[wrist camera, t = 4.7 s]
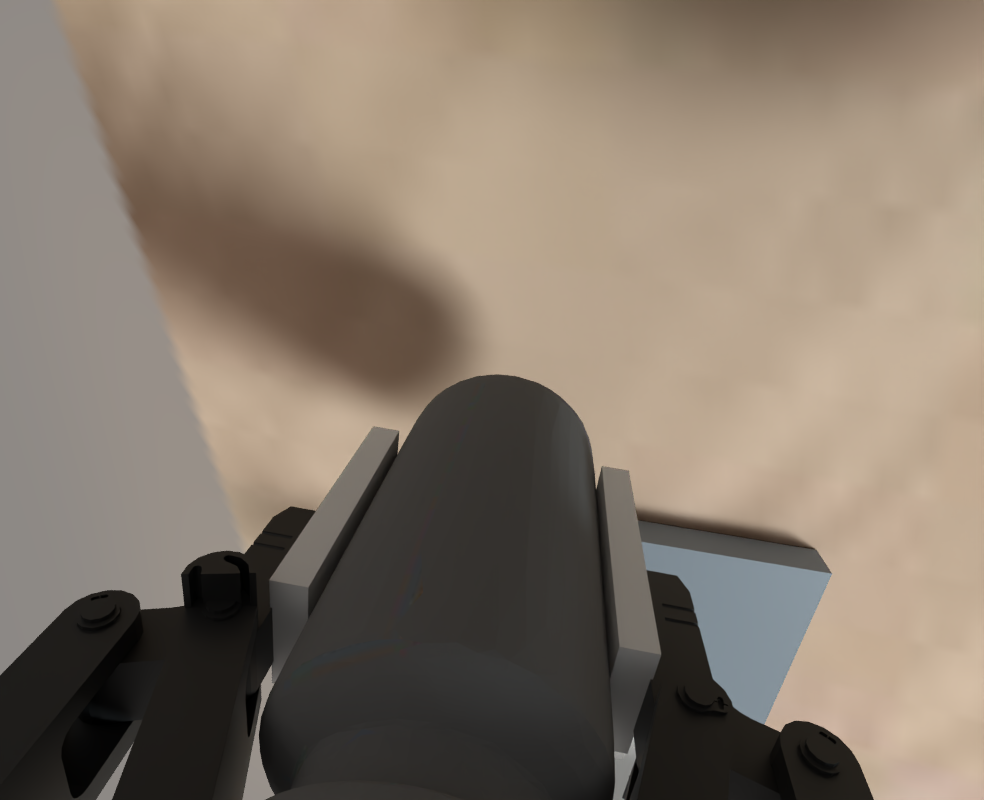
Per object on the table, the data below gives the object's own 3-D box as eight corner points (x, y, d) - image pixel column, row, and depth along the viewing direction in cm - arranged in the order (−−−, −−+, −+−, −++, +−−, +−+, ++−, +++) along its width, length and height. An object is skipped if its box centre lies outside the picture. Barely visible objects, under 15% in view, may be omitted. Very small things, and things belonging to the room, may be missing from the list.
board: (423, 484, 25) (415, 506, 24) (816, 550, 25) (834, 577, 23) (394, 767, 32) (387, 799, 31) (699, 824, 32) (706, 858, 30)
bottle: (458, 552, 21) (244, 1341, 7) (379, 409, 19) (-113, 1111, 5) (619, 504, 19) (740, 1392, 6) (551, 343, 17) (485, 1092, 4)
